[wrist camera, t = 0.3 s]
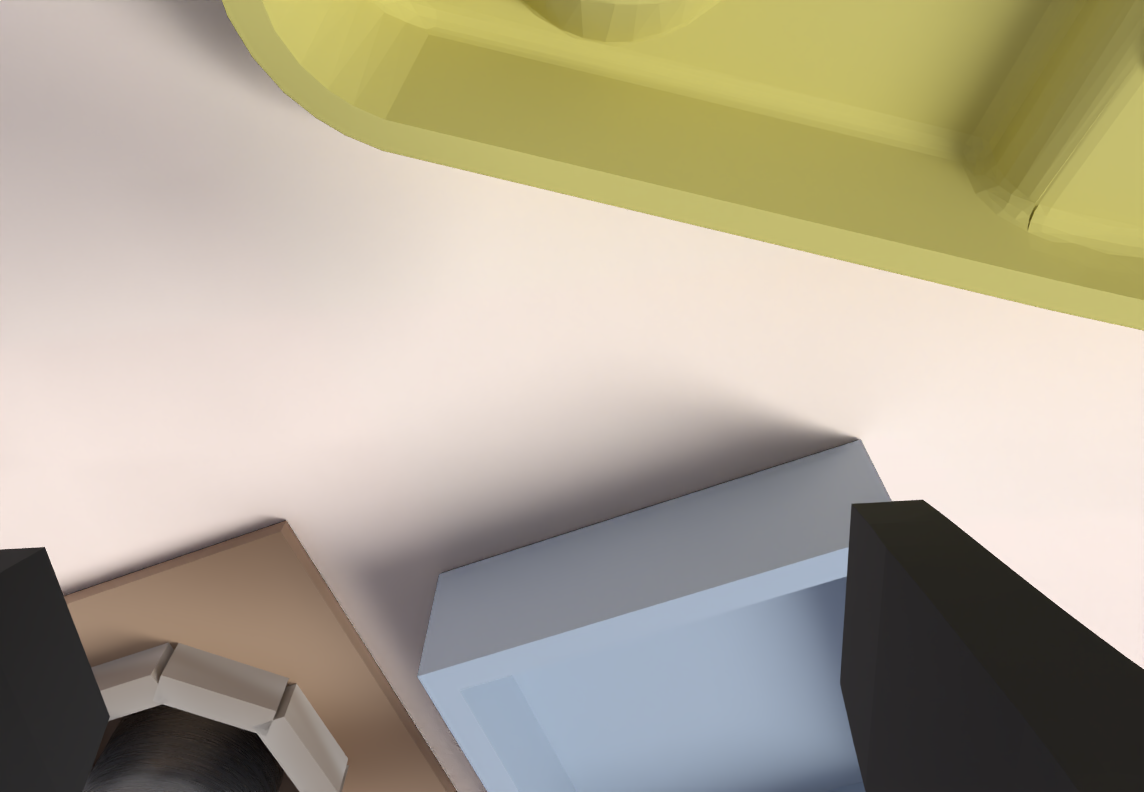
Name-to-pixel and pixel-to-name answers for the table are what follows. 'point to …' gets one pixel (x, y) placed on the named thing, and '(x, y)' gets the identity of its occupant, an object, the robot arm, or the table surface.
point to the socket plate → (255, 663)
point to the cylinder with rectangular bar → (183, 756)
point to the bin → (662, 643)
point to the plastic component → (772, 120)
